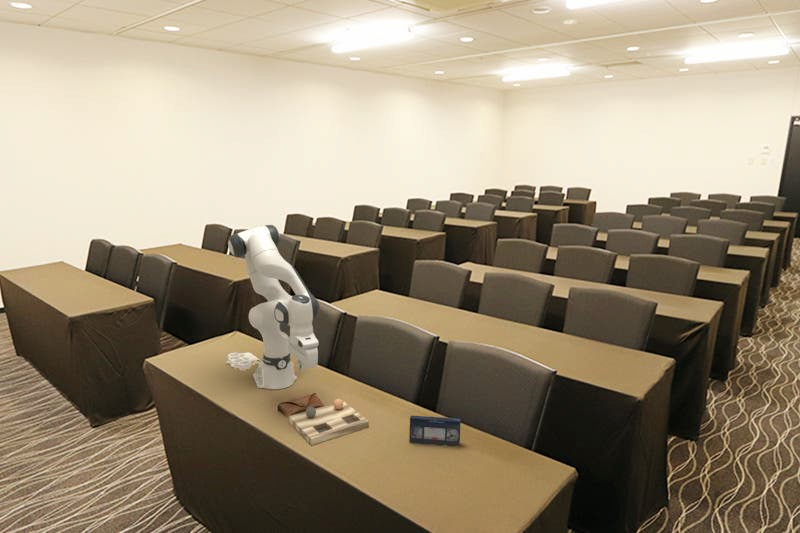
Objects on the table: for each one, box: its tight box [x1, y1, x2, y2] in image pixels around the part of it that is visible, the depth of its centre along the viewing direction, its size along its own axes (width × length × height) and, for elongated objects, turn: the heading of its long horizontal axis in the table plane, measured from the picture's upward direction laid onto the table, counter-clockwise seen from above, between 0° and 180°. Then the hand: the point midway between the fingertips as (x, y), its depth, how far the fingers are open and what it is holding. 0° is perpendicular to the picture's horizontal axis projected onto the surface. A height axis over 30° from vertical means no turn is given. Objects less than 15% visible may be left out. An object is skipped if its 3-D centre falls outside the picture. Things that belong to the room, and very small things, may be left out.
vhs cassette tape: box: [408, 415, 462, 447], centre depth 187 cm, size 18×3×10 cm, turn 82°
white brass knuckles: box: [225, 352, 262, 370], centre depth 256 cm, size 3×18×15 cm
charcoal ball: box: [306, 407, 316, 417], centre depth 200 cm, size 4×4×4 cm
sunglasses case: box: [277, 392, 325, 419], centre depth 212 cm, size 18×7×7 cm, turn 130°
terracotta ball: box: [332, 398, 344, 409], centre depth 207 cm, size 4×4×4 cm
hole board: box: [288, 400, 370, 446], centre depth 199 cm, size 20×24×2 cm
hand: (302, 370), depth 202 cm, fingers closed
